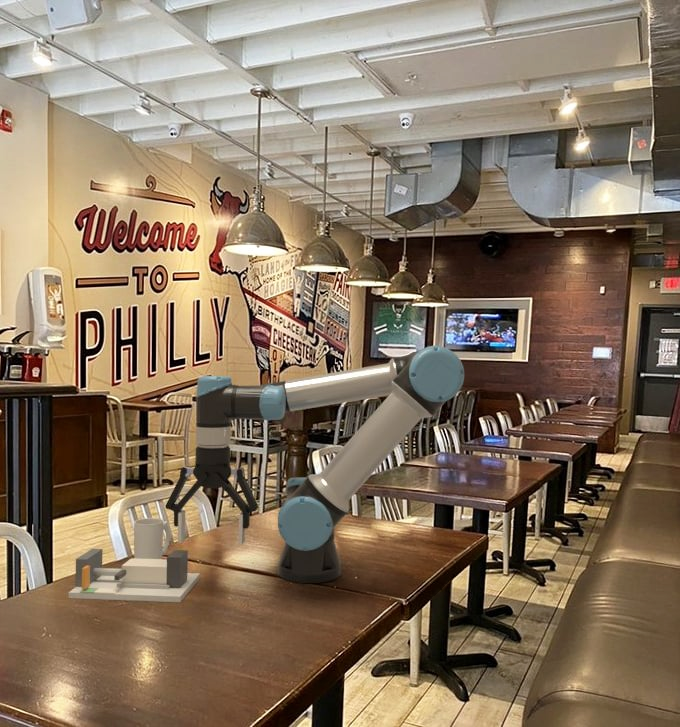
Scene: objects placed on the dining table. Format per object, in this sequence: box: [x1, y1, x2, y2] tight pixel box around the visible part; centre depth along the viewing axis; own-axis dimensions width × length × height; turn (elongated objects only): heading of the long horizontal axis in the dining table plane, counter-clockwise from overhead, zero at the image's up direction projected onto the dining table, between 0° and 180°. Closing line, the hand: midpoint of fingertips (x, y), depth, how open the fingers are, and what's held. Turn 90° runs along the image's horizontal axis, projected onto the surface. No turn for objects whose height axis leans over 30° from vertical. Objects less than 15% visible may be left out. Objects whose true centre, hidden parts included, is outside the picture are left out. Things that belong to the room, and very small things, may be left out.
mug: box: [133, 517, 171, 559], centre depth 155 cm, size 10×7×12 cm, turn 147°
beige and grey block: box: [114, 549, 189, 587], centre depth 140 cm, size 13×9×6 cm
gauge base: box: [68, 548, 201, 603], centre depth 142 cm, size 24×15×7 cm, turn 87°
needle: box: [82, 566, 90, 589], centre depth 136 cm, size 1×2×4 cm, turn 177°
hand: (211, 542), depth 141 cm, fingers open, 13 cm apart
